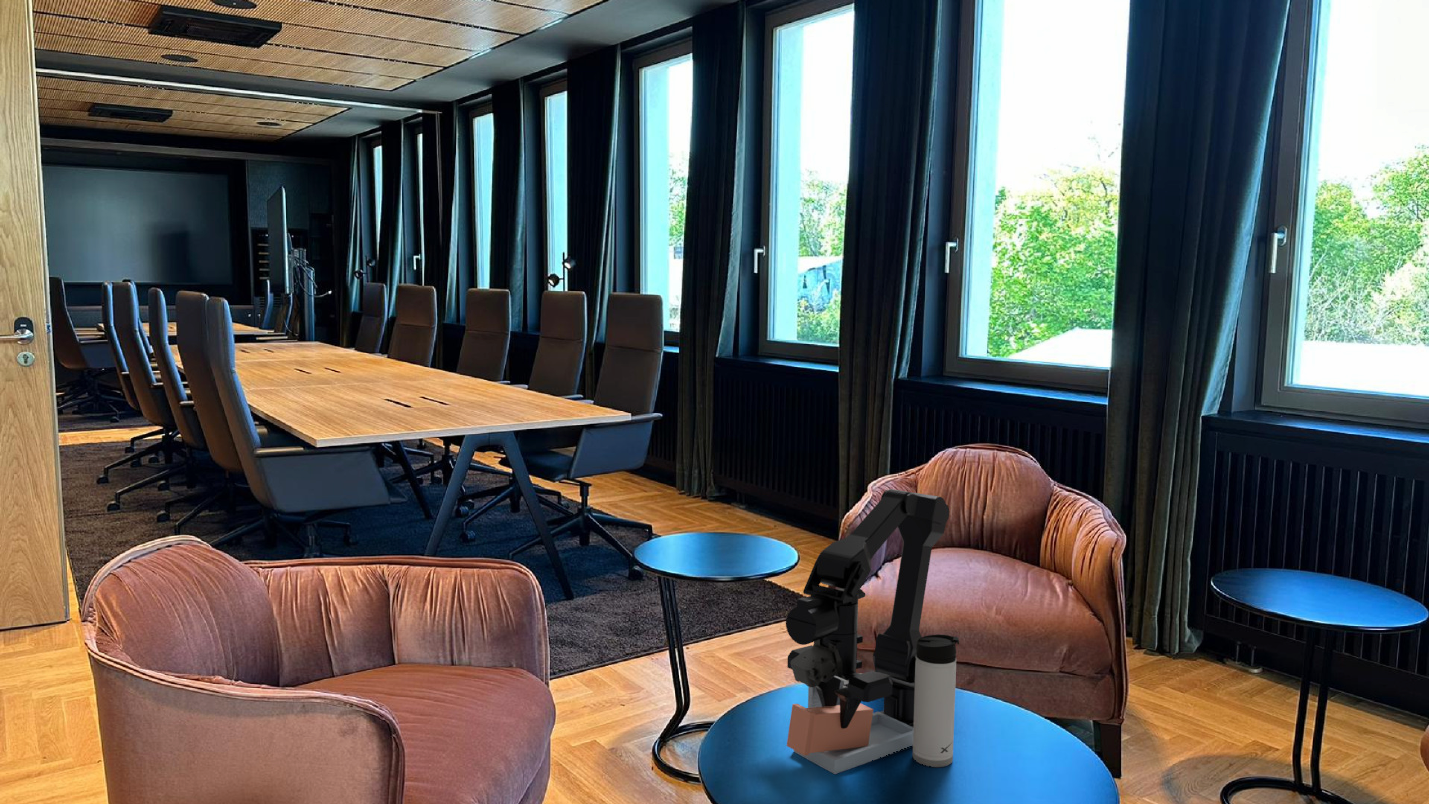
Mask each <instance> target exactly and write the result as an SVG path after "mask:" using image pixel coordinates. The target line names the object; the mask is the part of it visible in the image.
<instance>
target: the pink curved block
mask: <svg viewBox="0 0 1429 804" xmlns="http://www.w3.org/2000/svg"><path fill="white" fill-rule="evenodd" d="M873 713H874V708H871V707H869V706H867V705H864V704H863V703H862V702H861V703H860V705H859V706H858V708H857V710H856V712H855V714H854V716H853V718H852V720H851V722H850V724H849V725H848V727H847V728H845V729H843V728H841V722H840V705H836V706H825V707H813V708H808V707H805V706H803V705H801V704H799V703H792V706H791V713H790V718H789V726H788V734H787V740H786V747H788V748H790V749H791V750H793V751H794V750H795V751H797V752H799V753H801V754H802V755H804V756H805V755H809V753H815V752H823V751H831V750H839V749H848V748H856V747H864V746H868V743H869V736H870V729H871V722H872V716H873Z"/></svg>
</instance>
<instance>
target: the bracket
mask: <svg viewBox="0 0 1429 804" xmlns="http://www.w3.org/2000/svg"><path fill="white" fill-rule="evenodd" d="M843 685H844V681H843V680H841V683H840V688H839V689H842V688H843ZM807 687H808V686H807ZM807 690H808V691H807V693H808V694H807V708H813V707H822V704H821V701H820V698H819V695H818V693H817V690H816V688H815V687H808V688H807ZM837 705H840V698H839V697H838V699H837Z"/></svg>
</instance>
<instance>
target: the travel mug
mask: <svg viewBox="0 0 1429 804" xmlns="http://www.w3.org/2000/svg"><path fill="white" fill-rule="evenodd" d="M959 644H960V639H959V637H958V636H952V635H949V634H940V633H939V634H928V635H924V636H921V638H919V639H918V641H917V644H916V650H917V651H916V663H915V695H914V725H913V727H914V728H913V746H912V758H913V760H914V761H915V760H916V761H915V762H916V763H919V764H921V765H922V764H923V766H925V765H926V767H929V766H931V767H930V768H944V767H947V766H949V765H950V764H952V762H954V761H953V760H954V735H955V733H954V732H955V706H956V705H955V704H956V680H957V679H956V675H957V673H956V672H957V647H956V645H959Z"/></svg>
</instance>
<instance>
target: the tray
mask: <svg viewBox="0 0 1429 804" xmlns="http://www.w3.org/2000/svg"><path fill="white" fill-rule="evenodd" d="M913 728H914V726H912V725H911V726H909V725H907V724H905V723H903V722H900V721H898V720H896V719H894V718H892V717H889V716H887V715H885V714H883V713H881V711H875V712H873V716H872V722H871V729H870V736H869V743H868V746H864V747H856V748H848V749H839V750H831V751H823V752H815V753H809V755H805V756H804V755H802V754H801V753H799V752H797V751H795V750H793V752H794V753H795V754H798V755H799V756H801V757H802V758H805V759H807V760H808V761H810V762H812V763H813V764H815V765H818V766H819V767H821V768H823V769H824V770H826V771H828V772H830V773H832V774H834V775H836V774H838V773H839V774H840V773H842V772H845V771H848V770H851V769H854V768H856V767H858V766H862V765H865V764H867V763H871V762H873V761H875V760H879V759H881V758H883V757H887V756H889V755H888V754H890V755H892V754H894V753H893V752H895V753H897V752H896V751H898V752H900V750H901V749H903V750H905V749H904V748H906V749H908V748H907V747H909V746H912V747H913ZM909 748H910V747H909ZM901 751H902V750H901ZM886 755H887V756H886ZM880 757H881V758H880ZM872 760H873V761H872Z"/></svg>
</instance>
